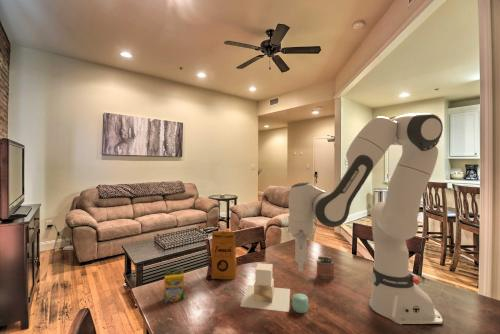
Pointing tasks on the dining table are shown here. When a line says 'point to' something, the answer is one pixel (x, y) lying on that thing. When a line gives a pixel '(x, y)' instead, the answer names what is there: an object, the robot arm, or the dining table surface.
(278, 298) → the white flat board
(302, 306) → the teal rounded cube
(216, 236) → the coffee package
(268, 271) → the white block
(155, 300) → the dining table surface
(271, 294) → the maple block
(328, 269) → the lighter
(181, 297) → the crayon box
